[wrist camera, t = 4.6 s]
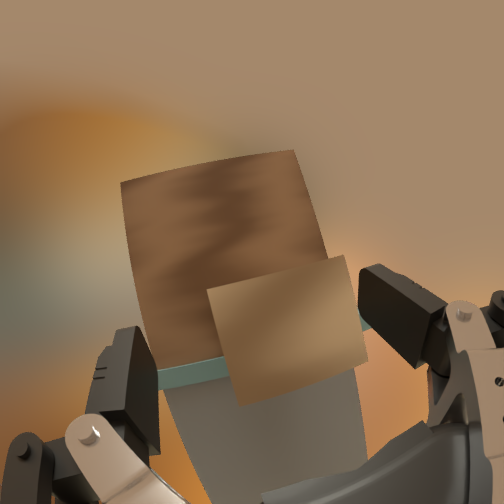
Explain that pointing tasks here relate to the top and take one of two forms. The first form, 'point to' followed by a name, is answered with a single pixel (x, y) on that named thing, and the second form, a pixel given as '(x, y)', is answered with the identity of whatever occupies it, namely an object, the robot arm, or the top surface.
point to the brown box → (240, 275)
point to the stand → (263, 431)
